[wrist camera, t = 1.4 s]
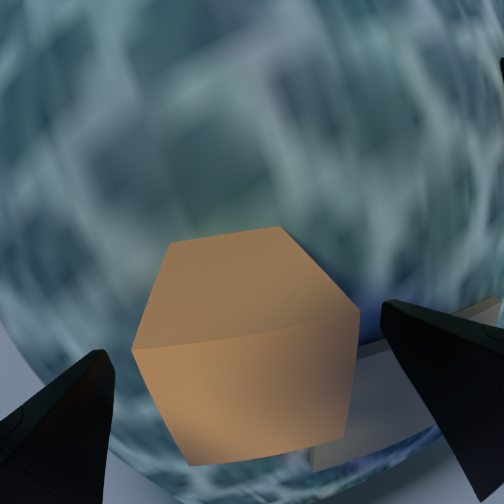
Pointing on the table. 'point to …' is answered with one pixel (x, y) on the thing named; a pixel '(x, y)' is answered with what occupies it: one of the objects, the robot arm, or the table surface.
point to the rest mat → (385, 400)
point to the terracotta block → (247, 347)
